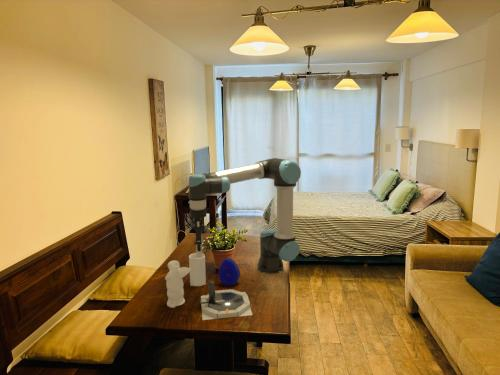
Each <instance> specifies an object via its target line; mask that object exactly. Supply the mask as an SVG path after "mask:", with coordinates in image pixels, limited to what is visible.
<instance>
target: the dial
mask: <svg viewBox="0 0 500 375" xmlns="http://www.w3.org/2000/svg"><path fill="white" fill-rule="evenodd" d="M207 286H208V287H207V288H208V294H209V300H208V307H209V308H212V309H214V310H217V311H226V309H228V310H235V309H237V308H238V307H240V306H241V305H243V301H242V298H241V297H240V296H239V295H237V294H233V293H220V294H216V295H215V291H216V282H215V280H209V281H207Z"/></svg>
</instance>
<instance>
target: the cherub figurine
mask: <svg viewBox="0 0 500 375" xmlns="http://www.w3.org/2000/svg"><path fill="white" fill-rule="evenodd" d="M167 267H168V270H169V271H168V272H167V274H166V275H165V277H164V280H165V281H166V282H165V283H166V289H167V291H166V296H167V298H168V300H167V302H166V305H167V307H168V308H171V309H172V308H176V307H178V306H181V305H183V304H185V302H186V299H185V298H184V296H185V294H184V293H185V290H184V281H183V278H185V277H186V276H187V275H188V274H190V271H191V268H190V267H188V266H187V267H186V266H182V267H181V266H180V262H179V261H178V260H175V259H174V260H170V261H169V262H168V263H167Z"/></svg>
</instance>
